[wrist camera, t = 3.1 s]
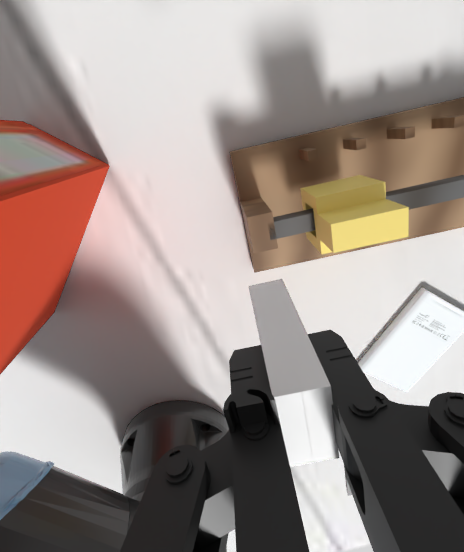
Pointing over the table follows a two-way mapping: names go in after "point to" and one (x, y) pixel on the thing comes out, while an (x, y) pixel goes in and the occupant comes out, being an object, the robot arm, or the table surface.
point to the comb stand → (347, 163)
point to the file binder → (39, 226)
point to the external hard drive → (414, 341)
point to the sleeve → (353, 214)
